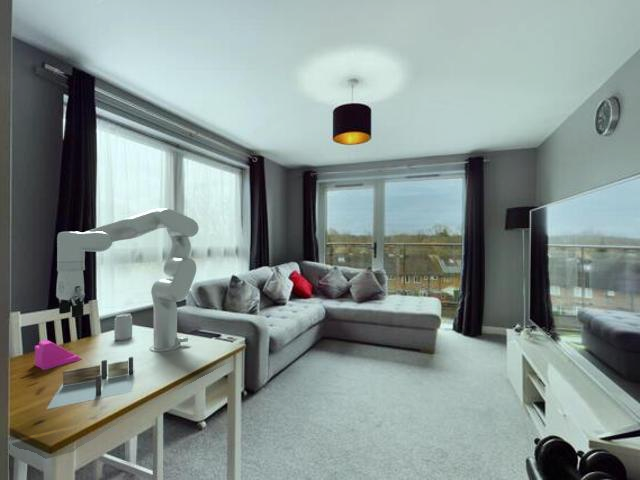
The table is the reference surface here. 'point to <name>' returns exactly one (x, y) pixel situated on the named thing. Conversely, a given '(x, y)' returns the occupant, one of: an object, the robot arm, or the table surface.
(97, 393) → the fence fixed
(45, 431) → the table surface
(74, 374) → the gate
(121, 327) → the can
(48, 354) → the magenta wedge-shaped piece
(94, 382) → the card
